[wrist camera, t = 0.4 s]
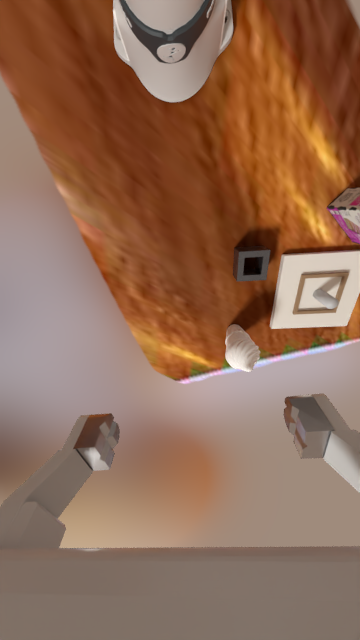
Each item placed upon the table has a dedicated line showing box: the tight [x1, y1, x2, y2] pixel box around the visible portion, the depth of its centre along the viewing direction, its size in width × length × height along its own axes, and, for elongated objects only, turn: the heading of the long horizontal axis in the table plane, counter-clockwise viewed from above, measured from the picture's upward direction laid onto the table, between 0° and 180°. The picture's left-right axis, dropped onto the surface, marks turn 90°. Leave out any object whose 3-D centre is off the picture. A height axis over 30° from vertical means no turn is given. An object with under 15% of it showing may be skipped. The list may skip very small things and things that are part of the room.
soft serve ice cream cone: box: [225, 324, 260, 372], centre depth 53 cm, size 8×8×16 cm
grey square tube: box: [233, 246, 270, 281], centre depth 48 cm, size 7×7×5 cm
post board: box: [270, 250, 360, 329], centre depth 50 cm, size 20×20×8 cm
